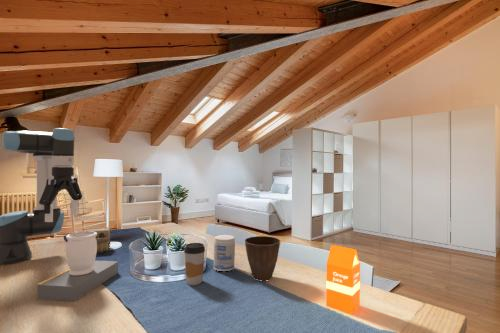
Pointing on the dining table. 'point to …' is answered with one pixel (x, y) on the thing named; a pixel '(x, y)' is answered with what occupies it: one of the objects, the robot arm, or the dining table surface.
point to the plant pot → (262, 256)
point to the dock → (76, 282)
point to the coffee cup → (194, 263)
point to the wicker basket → (102, 239)
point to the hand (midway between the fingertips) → (62, 218)
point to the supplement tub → (224, 252)
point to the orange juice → (343, 279)
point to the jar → (81, 252)
